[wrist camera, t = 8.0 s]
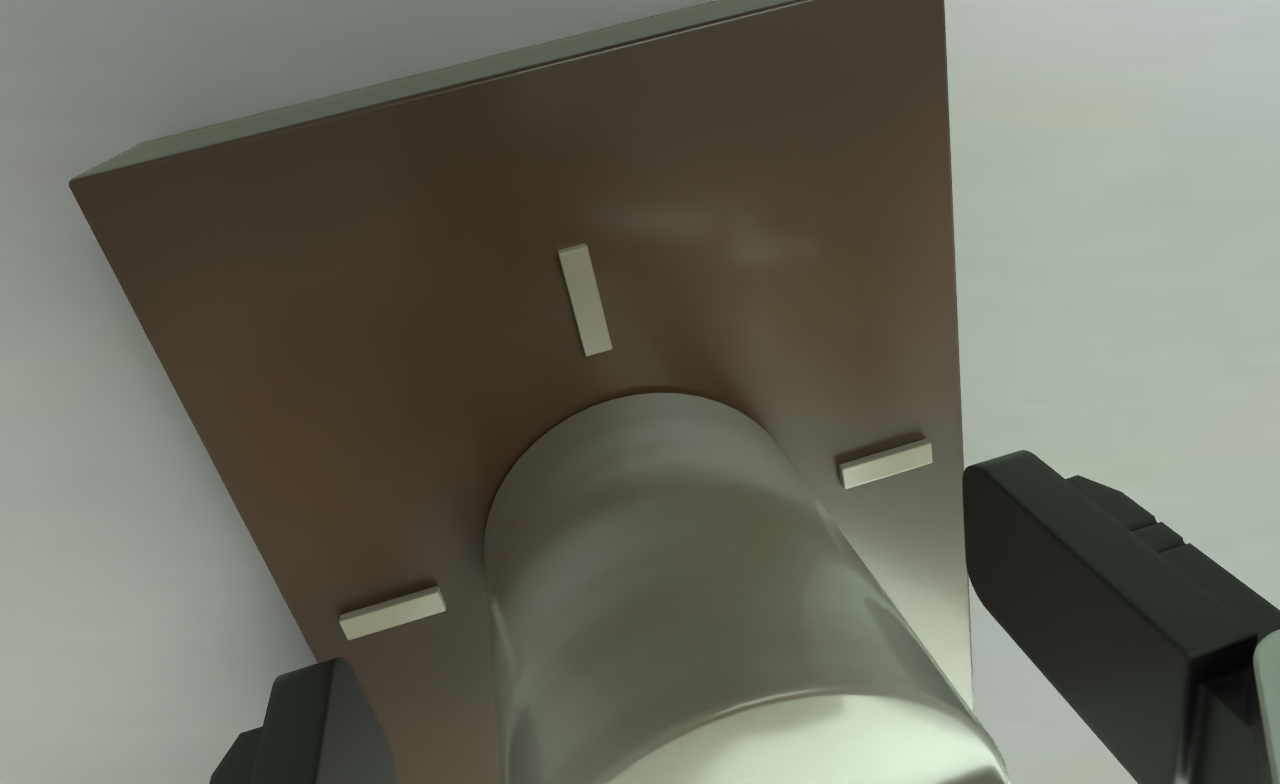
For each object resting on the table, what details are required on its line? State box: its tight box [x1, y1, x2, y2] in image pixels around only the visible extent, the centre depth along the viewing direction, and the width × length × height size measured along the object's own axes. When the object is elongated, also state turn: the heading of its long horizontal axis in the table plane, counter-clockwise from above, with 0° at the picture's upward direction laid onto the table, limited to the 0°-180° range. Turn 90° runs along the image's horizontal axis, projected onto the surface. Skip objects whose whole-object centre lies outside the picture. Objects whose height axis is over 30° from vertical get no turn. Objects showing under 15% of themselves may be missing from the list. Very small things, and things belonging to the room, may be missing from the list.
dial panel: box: [69, 0, 974, 784], centre depth 14 cm, size 13×10×3 cm
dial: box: [484, 393, 1011, 784], centre depth 10 cm, size 5×5×6 cm
